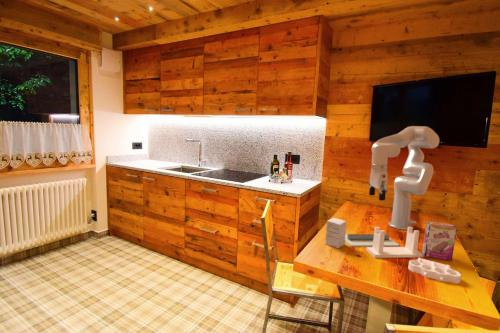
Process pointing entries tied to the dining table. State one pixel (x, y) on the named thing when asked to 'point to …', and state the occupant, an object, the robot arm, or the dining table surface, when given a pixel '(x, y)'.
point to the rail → (364, 237)
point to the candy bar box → (439, 240)
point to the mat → (367, 242)
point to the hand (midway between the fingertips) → (376, 197)
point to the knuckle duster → (434, 270)
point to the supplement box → (335, 232)
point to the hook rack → (395, 252)
